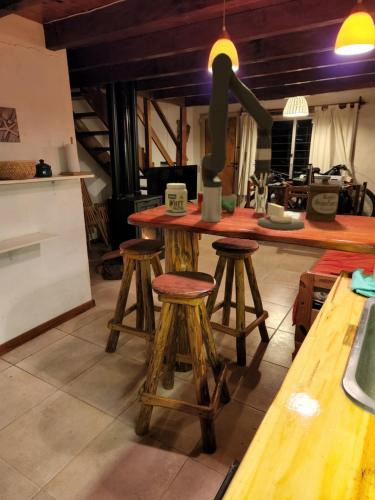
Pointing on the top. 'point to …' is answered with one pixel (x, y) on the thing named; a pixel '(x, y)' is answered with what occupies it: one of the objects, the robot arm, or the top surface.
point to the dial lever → (277, 213)
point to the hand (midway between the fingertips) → (260, 194)
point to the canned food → (200, 200)
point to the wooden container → (322, 201)
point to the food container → (228, 203)
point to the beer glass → (260, 200)
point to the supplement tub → (176, 199)
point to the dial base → (281, 224)
